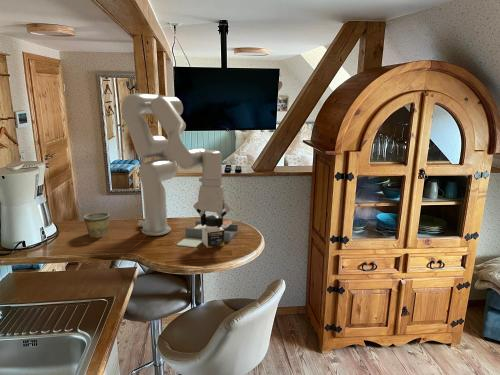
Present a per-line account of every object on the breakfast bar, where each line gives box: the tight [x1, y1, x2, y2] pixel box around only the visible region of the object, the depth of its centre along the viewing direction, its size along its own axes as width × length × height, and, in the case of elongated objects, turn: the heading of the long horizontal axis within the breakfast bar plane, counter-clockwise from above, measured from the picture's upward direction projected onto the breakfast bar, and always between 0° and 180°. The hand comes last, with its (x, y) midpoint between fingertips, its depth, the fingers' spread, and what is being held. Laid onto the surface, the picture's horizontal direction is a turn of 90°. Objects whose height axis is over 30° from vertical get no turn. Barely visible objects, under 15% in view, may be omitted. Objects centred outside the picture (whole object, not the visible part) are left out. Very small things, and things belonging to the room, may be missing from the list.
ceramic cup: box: [83, 211, 110, 239], centre depth 158 cm, size 13×10×10 cm
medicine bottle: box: [201, 214, 225, 249], centre depth 150 cm, size 7×7×12 cm
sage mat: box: [176, 237, 203, 248], centre depth 152 cm, size 8×8×1 cm
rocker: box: [194, 220, 233, 229], centre depth 161 cm, size 16×7×1 cm, turn 74°
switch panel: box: [184, 220, 239, 243], centre depth 161 cm, size 20×12×5 cm, turn 74°
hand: (211, 225), depth 149 cm, fingers closed on medicine bottle, 6 cm apart
